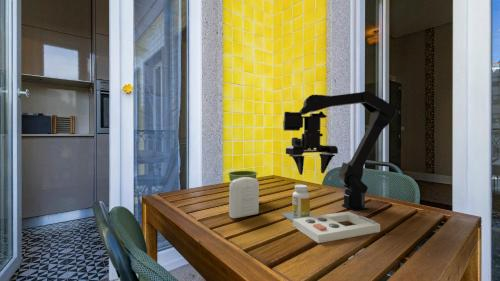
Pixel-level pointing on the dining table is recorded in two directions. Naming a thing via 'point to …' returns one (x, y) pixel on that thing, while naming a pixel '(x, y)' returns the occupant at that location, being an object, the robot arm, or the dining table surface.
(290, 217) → the slate mat
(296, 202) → the supplement bottle
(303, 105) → the robot arm
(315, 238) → the socket board
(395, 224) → the dining table surface
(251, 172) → the plant pot
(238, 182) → the white rounded slab
